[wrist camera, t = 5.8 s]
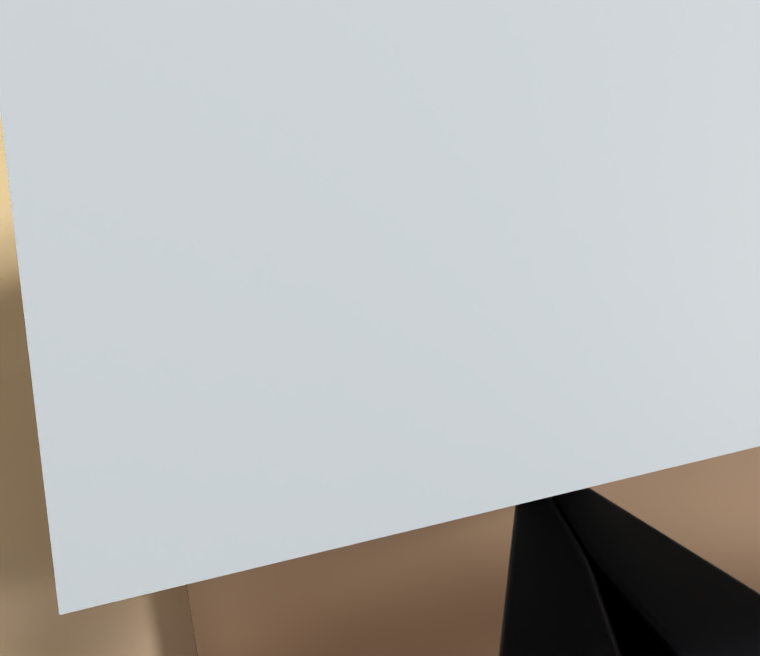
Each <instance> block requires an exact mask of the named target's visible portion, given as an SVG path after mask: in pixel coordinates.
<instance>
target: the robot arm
mask: <svg viewBox="0 0 760 656" xmlns="http://www.w3.org/2000/svg"><path fill="white" fill-rule="evenodd" d="M499 656H760V593H758V592H757V591H755V590H754V589H752V588H750V587H749V586H747V585H746V584H744V583H742V582H741V581H739V580H737V579H736V578H734V577H733V576H731V575H729V574H728V573H726V572H725V571H723V570H721V569H720V568H718V567H716V566H715V565H713V564H712V563H710V562H708V561H707V560H705V559H704V558H702V557H700V556H699V555H697V554H695V553H694V552H692V551H691V550H689V549H687V548H686V547H684V546H683V545H681V544H679V543H678V542H676V541H675V540H673V539H671V538H670V537H668V536H666V535H665V534H663V533H662V532H660V531H658V530H657V529H655V528H654V527H652V526H650V525H649V524H647V523H645V522H644V521H642V520H641V519H639V518H637V517H636V516H634V515H633V514H631V513H629V512H628V511H626V510H624V509H623V508H621V507H620V506H618V505H616V504H615V503H613V502H612V501H610V500H608V499H607V498H605V497H604V496H602V495H600V494H599V493H597V492H595V491H594V490H592V489H591V488H584V489H580V490H576V491H572V492H568V493H564V494H560V495H555V496H551V497H547V498H543V499H539V500H535V501H531V502H526V503H522V504H518V505H515V512H514V521H513V530H512V539H511V548H510V557H509V566H508V575H507V584H506V593H505V602H504V611H503V620H502V629H501V638H500V647H499Z"/></svg>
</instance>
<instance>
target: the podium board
mask: <svg viewBox="0 0 760 656" xmlns="http://www.w3.org/2000/svg"><path fill="white" fill-rule="evenodd" d="M589 488H591V489H592V490H594V491H595V492H597V493H599V494H600V495H602V496H604V497H605V498H607V499H608V500H610V501H612V502H613V503H615V504H616V505H618V506H620V507H621V508H623V509H624V510H626V511H628V512H629V513H631V514H633V515H634V516H636V517H637V518H639V519H641V520H642V521H644V522H645V523H647V524H649V525H650V526H652V527H654V528H655V529H657V530H658V531H660V532H662V533H663V534H665V535H666V536H668V537H670V538H671V539H673V540H675V541H676V542H678V543H679V544H681V545H683V546H684V547H686V548H687V549H689V550H691V551H692V552H694V553H695V554H697V555H699V556H700V557H702V558H704V559H705V560H707V561H708V562H710V563H712V564H713V565H715V566H716V567H718V568H720V569H721V570H723V571H725V572H726V573H728V574H729V575H731V576H733V577H734V578H736V579H737V580H739V581H741V582H742V583H744V584H746V585H747V586H749V587H750V588H752V589H754V590H755V591H757V592H758V593H760V446H759V447H754V448H750V449H746V450H742V451H738V452H734V453H730V454H725V455H721V456H717V457H713V458H709V459H705V460H701V461H696V462H692V463H688V464H684V465H680V466H676V467H672V468H667V469H663V470H659V471H655V472H651V473H647V474H643V475H638V476H634V477H630V478H626V479H622V480H618V481H613V482H609V483H605V484H601V485H597V486H593V487H589ZM514 512H515V505H514V506H510V507H506V508H502V509H497V510H493V511H489V512H485V513H481V514H477V515H473V516H468V517H464V518H460V519H456V520H452V521H448V522H444V523H439V524H435V525H431V526H427V527H423V528H419V529H414V530H410V531H406V532H402V533H398V534H394V535H390V536H385V537H381V538H377V539H373V540H369V541H365V542H361V543H356V544H352V545H348V546H344V547H340V548H336V549H332V550H327V551H323V552H319V553H315V554H311V555H307V556H303V557H298V558H294V559H290V560H286V561H282V562H278V563H274V564H269V565H265V566H261V567H257V568H253V569H249V570H245V571H240V572H236V573H232V574H228V575H224V576H220V577H215V578H211V579H207V580H203V581H199V582H195V583H191V584H186V585H187V592H188V598H189V604H190V611H191V617H192V623H193V630H194V636H195V642H196V649H197V655H198V656H499V647H500V638H501V629H502V620H503V611H504V602H505V593H506V584H507V575H508V566H509V557H510V548H511V539H512V530H513V521H514Z"/></svg>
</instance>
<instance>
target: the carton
mask: <svg viewBox="0 0 760 656" xmlns="http://www.w3.org/2000/svg"><path fill="white" fill-rule="evenodd" d="M0 114H1V122H2V131H3V140H4V148H5V157H6V165H7V174H8V182H9V191H10V199H11V208H12V216H13V225H14V234H15V242H16V251H17V259H18V268H19V276H20V285H21V293H22V302H23V310H24V319H25V327H26V336H27V345H28V353H29V362H30V370H31V379H32V387H33V396H34V404H35V413H36V421H37V430H38V439H39V447H40V456H41V464H42V473H43V481H44V490H45V498H46V507H47V515H48V524H49V532H50V541H51V550H52V558H53V567H54V575H55V584H56V592H57V601H58V609H59V615H62V614H66V613H70V612H75V611H79V610H83V609H87V608H91V607H95V606H99V605H104V604H108V603H112V602H116V601H120V600H124V599H128V598H133V597H137V596H141V595H145V594H149V593H153V592H157V591H162V590H166V589H170V588H174V587H178V586H182V585H186V584H191V583H195V582H199V581H203V580H207V579H211V578H215V577H220V576H224V575H228V574H232V573H236V572H240V571H245V570H249V569H253V568H257V567H261V566H265V565H269V564H274V563H278V562H282V561H286V560H290V559H294V558H298V557H303V556H307V555H311V554H315V553H319V552H323V551H327V550H332V549H336V548H340V547H344V546H348V545H352V544H356V543H361V542H365V541H369V540H373V539H377V538H381V537H385V536H390V535H394V534H398V533H402V532H406V531H410V530H414V529H419V528H423V527H427V526H431V525H435V524H439V523H444V522H448V521H452V520H456V519H460V518H464V517H468V516H473V515H477V514H481V513H485V512H489V511H493V510H497V509H502V508H506V507H510V506H514V505H518V504H522V503H526V502H531V501H535V500H539V499H543V498H547V497H551V496H555V495H560V494H564V493H568V492H572V491H576V490H580V489H584V488H589V487H593V486H597V485H601V484H605V483H609V482H613V481H618V480H622V479H626V478H630V477H634V476H638V475H643V474H647V473H651V472H655V471H659V470H663V469H667V468H672V467H676V466H680V465H684V464H688V463H692V462H696V461H701V460H705V459H709V458H713V457H717V456H721V455H725V454H730V453H734V452H738V451H742V450H746V449H750V448H754V447H759V446H760V0H0Z"/></svg>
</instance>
